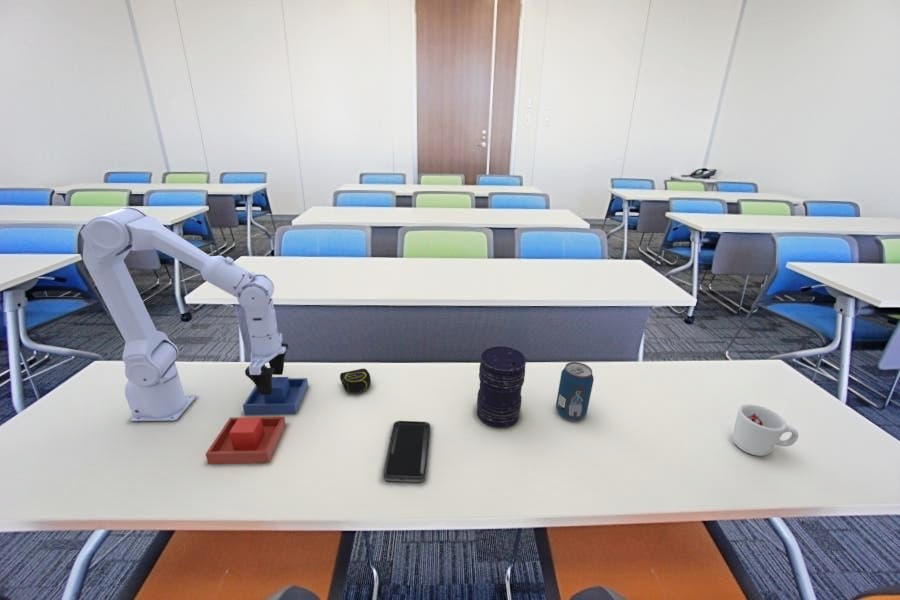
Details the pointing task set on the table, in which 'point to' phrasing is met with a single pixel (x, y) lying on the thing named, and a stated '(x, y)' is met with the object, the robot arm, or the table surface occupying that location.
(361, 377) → the tape measure
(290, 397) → the blue tray
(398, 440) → the phone
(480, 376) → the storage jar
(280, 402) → the blue block
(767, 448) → the cup
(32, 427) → the table surface
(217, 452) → the red tray
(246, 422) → the red block
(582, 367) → the soda can
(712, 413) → the table surface
